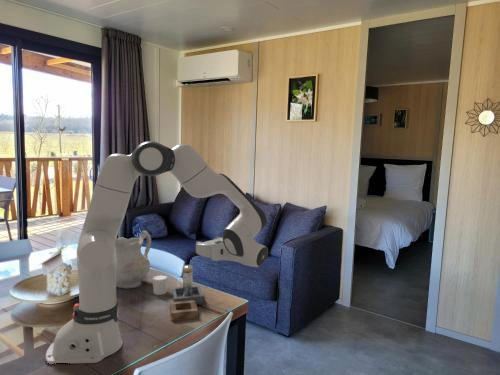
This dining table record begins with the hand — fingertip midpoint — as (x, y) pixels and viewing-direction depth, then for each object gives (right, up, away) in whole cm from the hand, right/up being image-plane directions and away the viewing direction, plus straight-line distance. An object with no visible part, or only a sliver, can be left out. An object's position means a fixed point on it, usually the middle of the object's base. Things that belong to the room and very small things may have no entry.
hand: (206, 241), depth 149 cm
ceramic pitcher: (-39, -24, +29) cm, 54 cm away
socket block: (-9, -28, -2) cm, 30 cm away
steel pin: (-9, -26, +11) cm, 30 cm away
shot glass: (-23, -26, +19) cm, 39 cm away
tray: (-10, -27, +11) cm, 31 cm away
